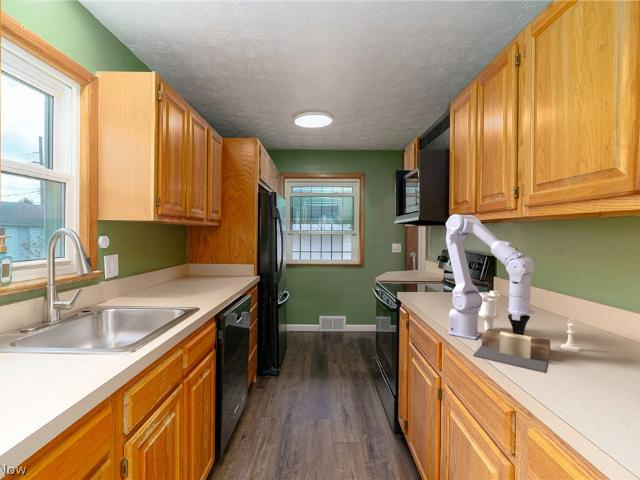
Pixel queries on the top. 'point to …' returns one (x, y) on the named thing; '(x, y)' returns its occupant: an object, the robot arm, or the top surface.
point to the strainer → (489, 308)
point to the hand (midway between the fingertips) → (518, 337)
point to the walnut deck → (538, 345)
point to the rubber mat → (511, 359)
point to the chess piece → (570, 339)
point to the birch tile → (515, 345)
